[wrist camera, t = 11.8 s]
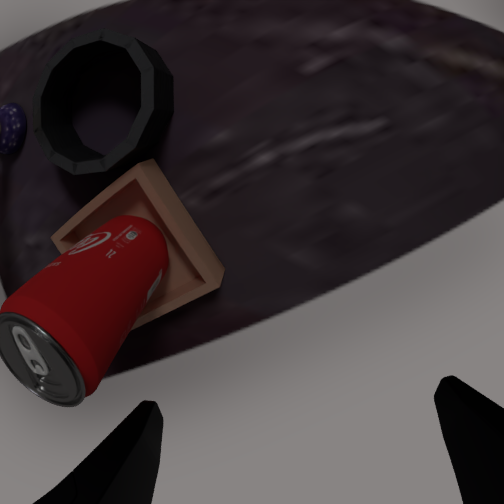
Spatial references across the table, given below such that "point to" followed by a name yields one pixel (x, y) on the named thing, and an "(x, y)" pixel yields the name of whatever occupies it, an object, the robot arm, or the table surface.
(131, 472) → the robot arm
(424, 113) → the table surface
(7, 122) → the toy lamp
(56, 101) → the steel collar
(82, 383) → the beverage can
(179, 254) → the terracotta tray
